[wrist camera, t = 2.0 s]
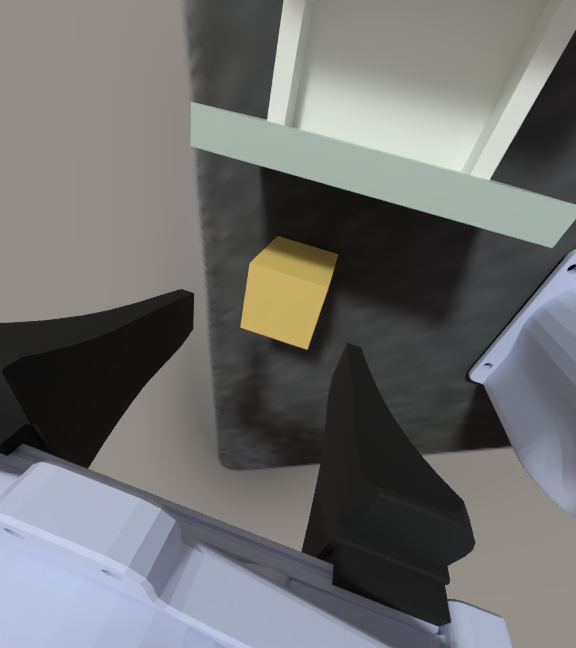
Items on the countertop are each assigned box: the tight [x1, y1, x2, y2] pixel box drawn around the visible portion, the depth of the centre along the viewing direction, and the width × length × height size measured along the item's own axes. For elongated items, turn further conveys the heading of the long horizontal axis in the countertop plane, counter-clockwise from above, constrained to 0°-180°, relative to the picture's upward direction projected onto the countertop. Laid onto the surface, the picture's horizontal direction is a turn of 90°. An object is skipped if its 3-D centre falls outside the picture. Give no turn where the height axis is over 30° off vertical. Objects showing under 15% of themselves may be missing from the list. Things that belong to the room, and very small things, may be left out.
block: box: [241, 236, 338, 350], centre depth 17 cm, size 4×4×5 cm
